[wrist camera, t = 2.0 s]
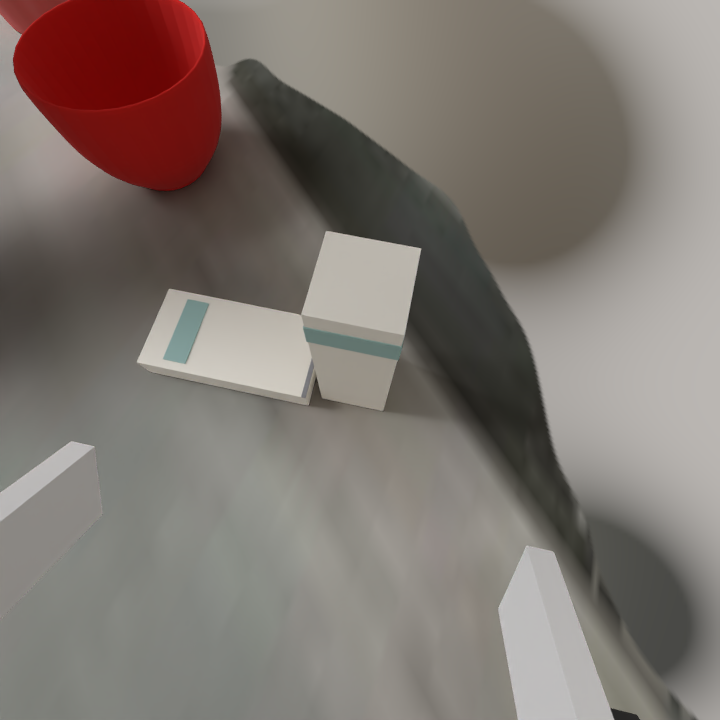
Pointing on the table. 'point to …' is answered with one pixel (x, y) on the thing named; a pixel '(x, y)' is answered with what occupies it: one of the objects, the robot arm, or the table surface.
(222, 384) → the strip
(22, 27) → the flower pot
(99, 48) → the ceramic cup
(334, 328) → the stub
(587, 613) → the table surface
